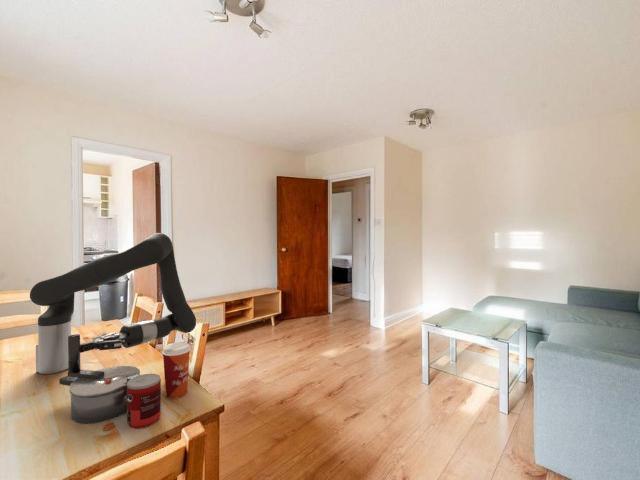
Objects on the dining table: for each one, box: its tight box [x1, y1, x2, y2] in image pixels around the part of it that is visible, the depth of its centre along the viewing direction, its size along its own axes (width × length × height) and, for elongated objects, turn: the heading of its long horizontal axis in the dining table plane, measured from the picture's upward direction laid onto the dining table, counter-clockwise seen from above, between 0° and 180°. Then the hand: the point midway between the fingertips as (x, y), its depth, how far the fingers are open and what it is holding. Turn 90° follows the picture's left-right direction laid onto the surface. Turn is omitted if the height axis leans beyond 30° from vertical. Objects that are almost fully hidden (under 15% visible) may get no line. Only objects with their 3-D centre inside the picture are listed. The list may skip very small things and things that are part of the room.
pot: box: [58, 374, 127, 425], centre depth 89 cm, size 28×16×7 cm, turn 76°
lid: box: [67, 333, 141, 397], centre depth 88 cm, size 23×17×13 cm
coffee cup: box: [161, 341, 192, 399], centre depth 96 cm, size 8×8×15 cm
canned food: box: [126, 373, 162, 429], centre depth 82 cm, size 8×8×11 cm
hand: (78, 348), depth 92 cm, fingers closed
